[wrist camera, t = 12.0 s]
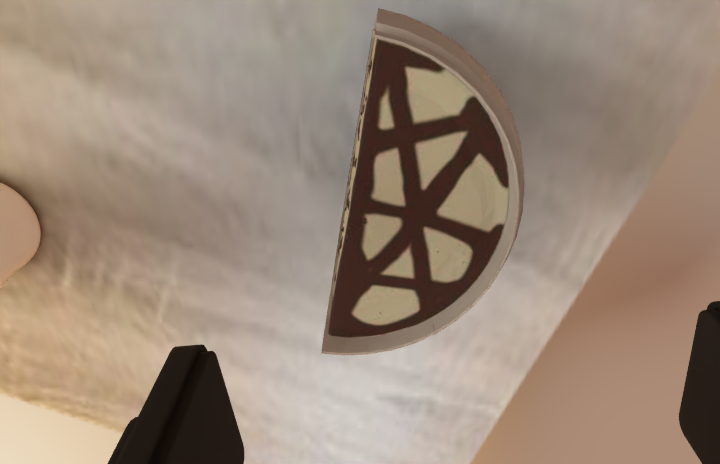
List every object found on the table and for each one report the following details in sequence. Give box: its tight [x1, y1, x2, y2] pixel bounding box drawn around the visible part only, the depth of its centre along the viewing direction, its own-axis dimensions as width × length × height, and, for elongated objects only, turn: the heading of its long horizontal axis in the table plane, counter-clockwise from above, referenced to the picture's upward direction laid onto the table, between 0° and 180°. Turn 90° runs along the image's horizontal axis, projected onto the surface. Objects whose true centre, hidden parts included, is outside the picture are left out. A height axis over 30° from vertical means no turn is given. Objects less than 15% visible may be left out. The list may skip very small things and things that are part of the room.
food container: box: [321, 8, 524, 355], centre depth 22 cm, size 12×6×10 cm, turn 171°
